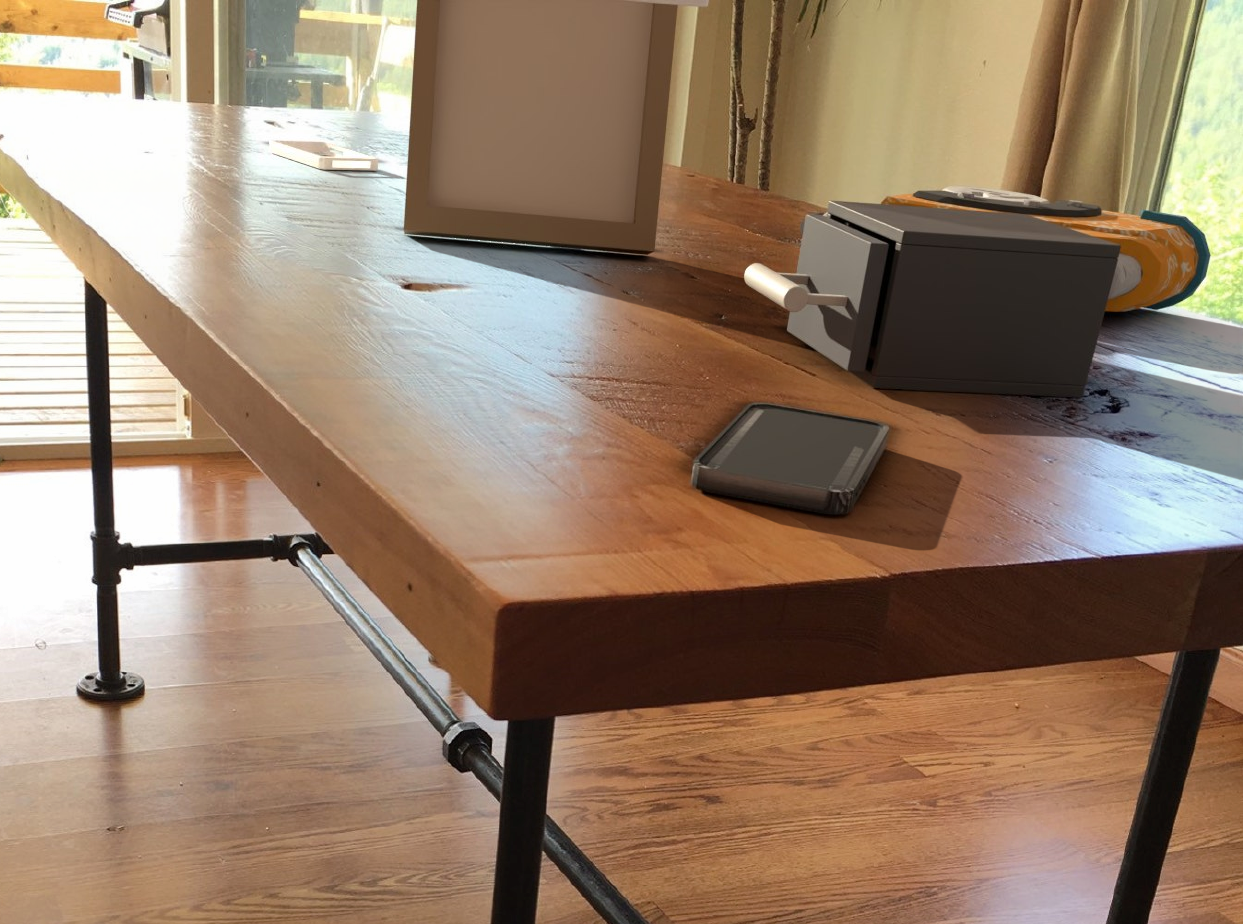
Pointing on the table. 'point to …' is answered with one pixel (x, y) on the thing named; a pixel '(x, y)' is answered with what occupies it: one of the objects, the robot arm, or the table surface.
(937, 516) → the table surface
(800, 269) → the drawer
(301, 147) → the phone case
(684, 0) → the supplement can
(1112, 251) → the small grey cabinet
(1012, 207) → the device
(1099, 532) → the table surface
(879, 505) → the table surface
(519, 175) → the photo frame
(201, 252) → the table surface
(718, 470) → the phone
